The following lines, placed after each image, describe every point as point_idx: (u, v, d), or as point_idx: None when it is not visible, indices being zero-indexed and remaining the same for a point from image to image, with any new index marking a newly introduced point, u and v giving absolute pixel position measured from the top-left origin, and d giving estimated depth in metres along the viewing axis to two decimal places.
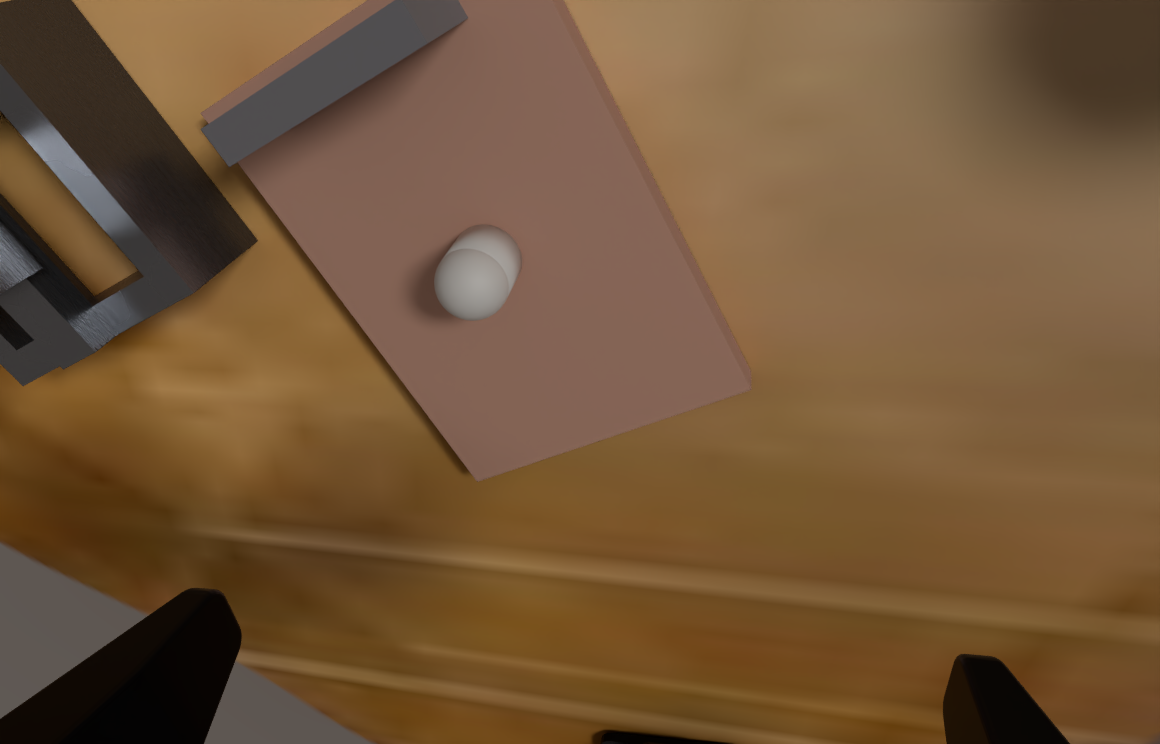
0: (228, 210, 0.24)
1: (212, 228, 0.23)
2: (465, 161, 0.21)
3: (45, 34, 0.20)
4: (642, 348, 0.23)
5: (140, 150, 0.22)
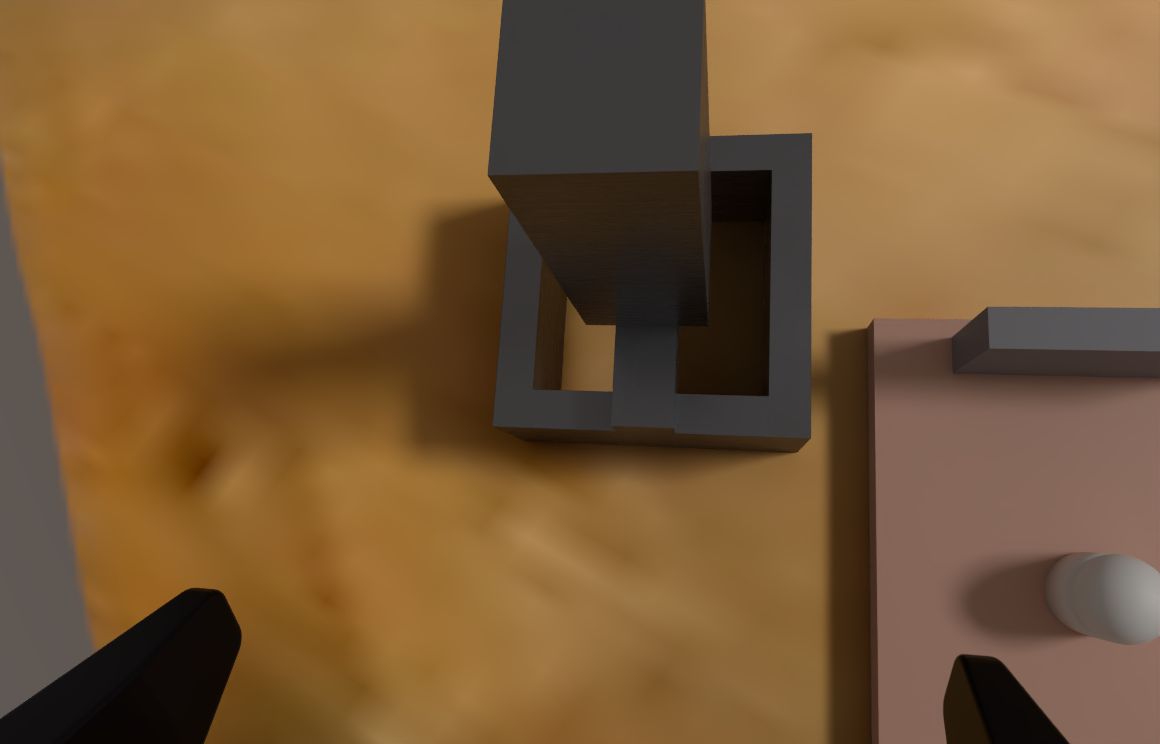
0: None
1: None
2: (1123, 489, 0.20)
3: None
4: None
5: None
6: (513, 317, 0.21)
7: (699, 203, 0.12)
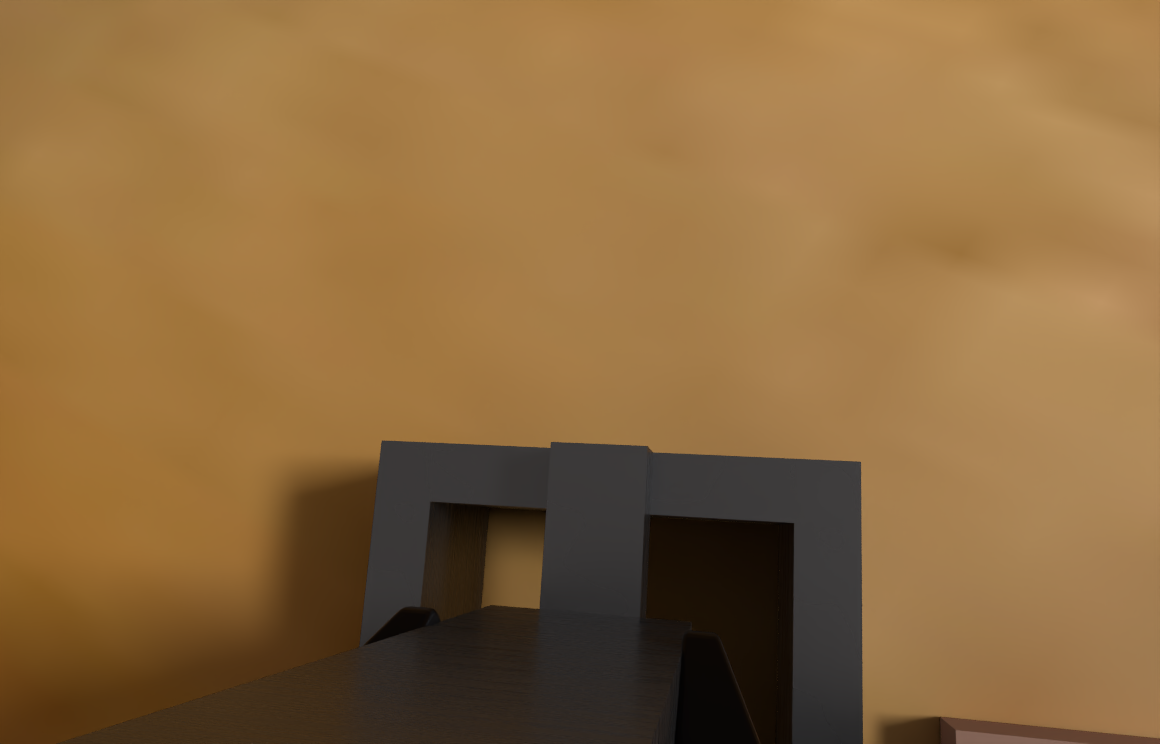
0: None
1: None
2: None
3: None
4: None
5: None
6: None
7: None
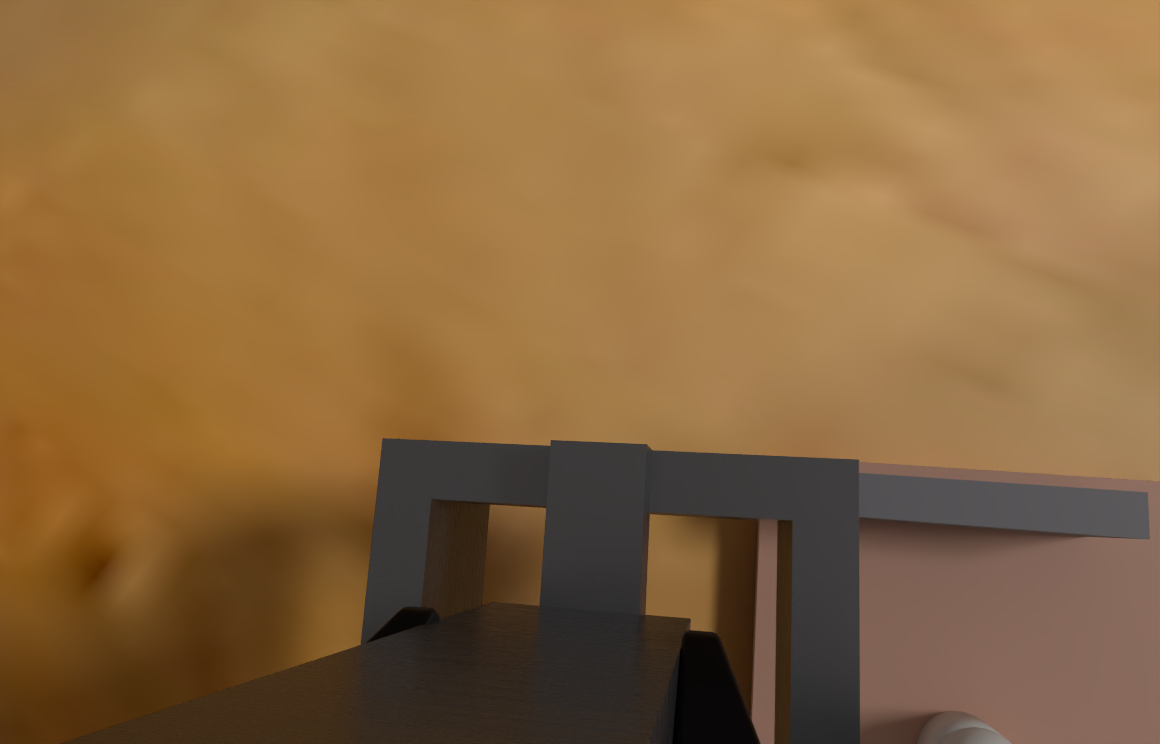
0: None
1: None
2: (1000, 648, 0.20)
3: None
4: None
5: None
6: None
7: None
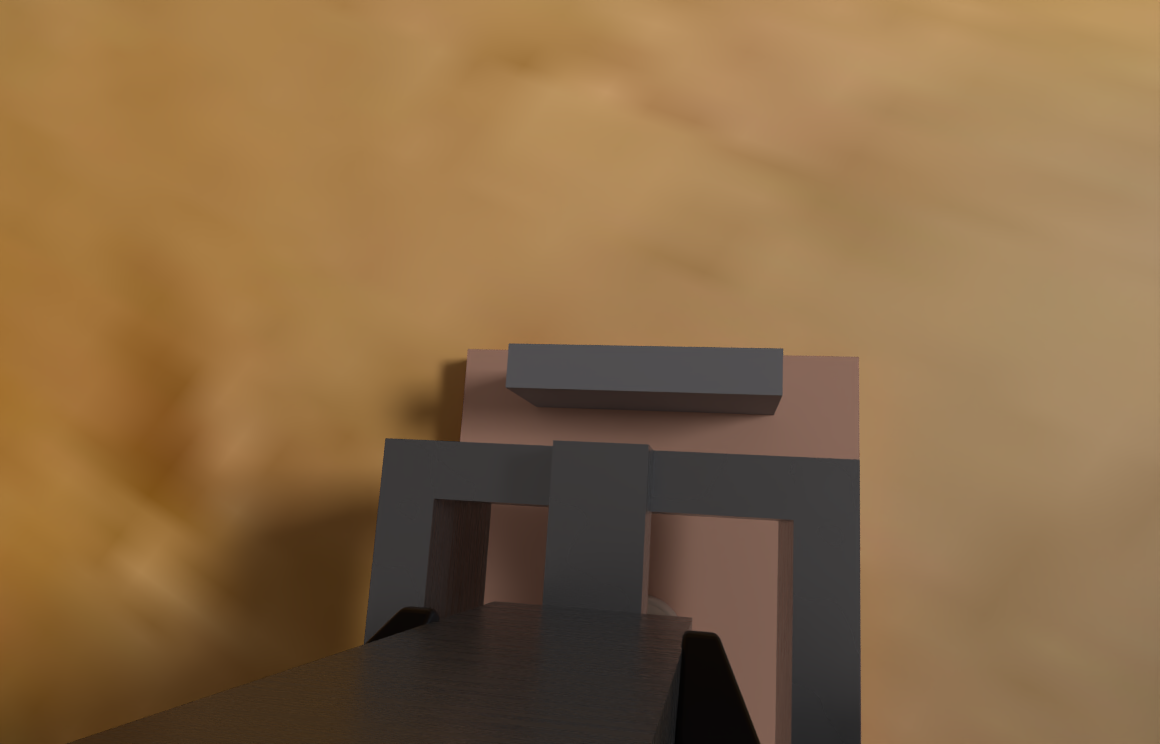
0: None
1: None
2: (686, 530, 0.19)
3: None
4: None
5: None
6: None
7: None
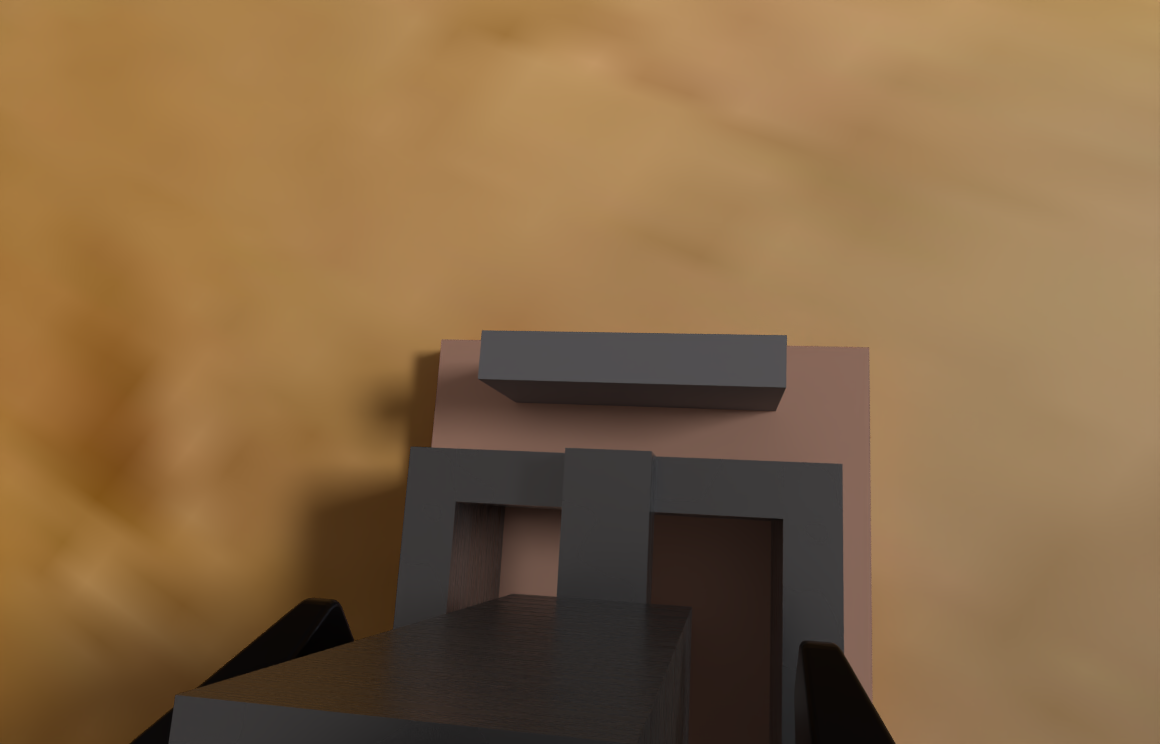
0: None
1: None
2: (679, 537, 0.17)
3: None
4: None
5: None
6: None
7: None
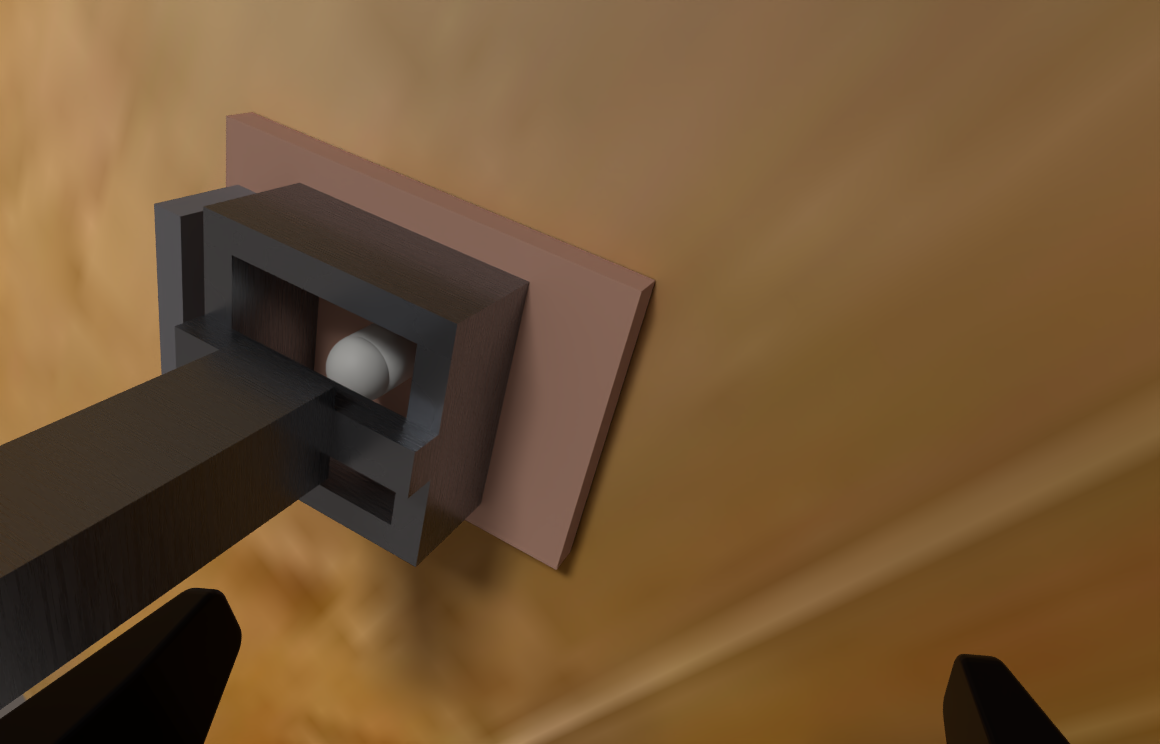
0: (488, 267, 0.21)
1: (471, 280, 0.20)
2: None
3: (283, 204, 0.22)
4: (536, 330, 0.22)
5: (381, 247, 0.21)
6: (335, 511, 0.23)
7: (42, 554, 0.13)
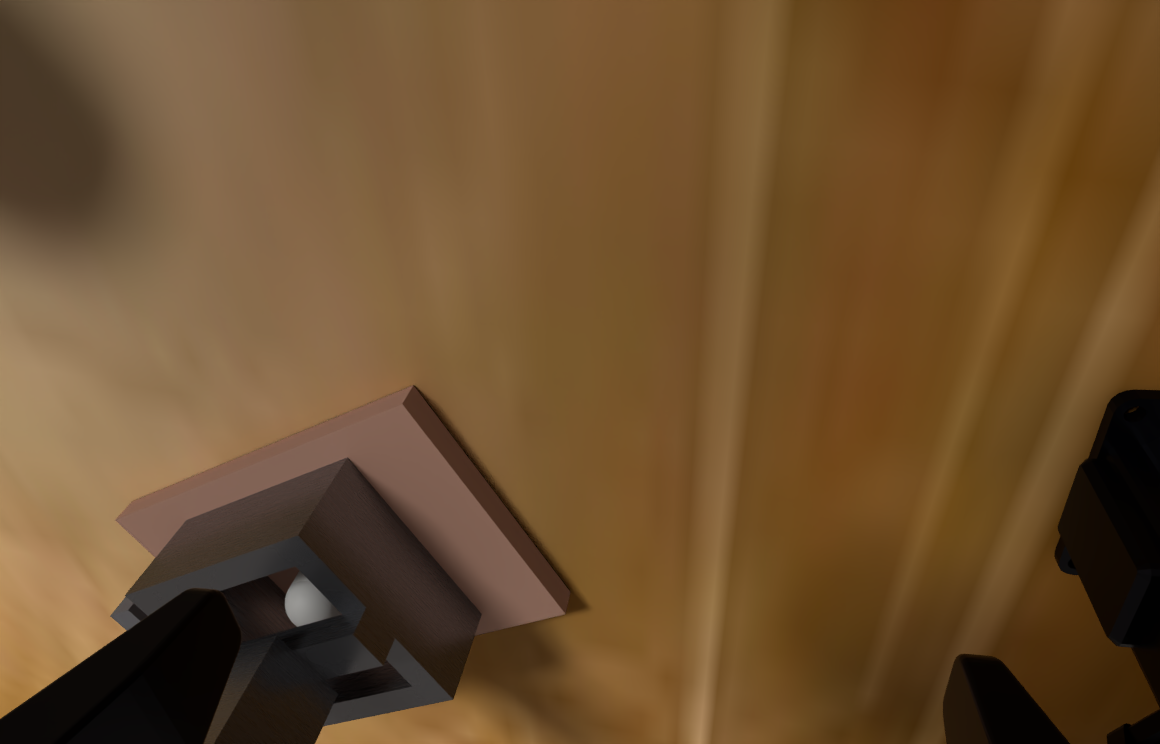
0: (318, 471, 0.26)
1: (306, 492, 0.25)
2: None
3: (176, 546, 0.27)
4: (383, 481, 0.26)
5: (244, 521, 0.26)
6: (380, 707, 0.27)
7: None
